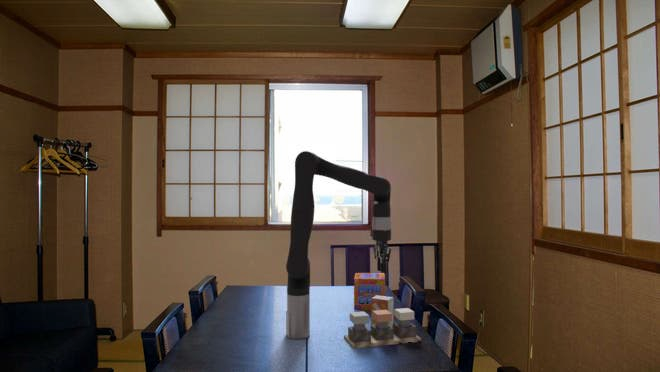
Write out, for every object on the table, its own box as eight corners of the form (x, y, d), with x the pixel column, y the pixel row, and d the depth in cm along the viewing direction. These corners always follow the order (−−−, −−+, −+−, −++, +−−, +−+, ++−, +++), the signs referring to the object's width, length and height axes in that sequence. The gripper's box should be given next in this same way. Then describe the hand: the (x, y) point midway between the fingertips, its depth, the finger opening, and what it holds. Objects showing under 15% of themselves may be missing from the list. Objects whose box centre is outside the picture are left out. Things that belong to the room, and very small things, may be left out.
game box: (385, 310, 226) (385, 278, 226) (353, 310, 228) (353, 278, 228) (385, 302, 242) (385, 273, 242) (355, 302, 243) (355, 272, 243)
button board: (353, 348, 174) (353, 334, 174) (343, 338, 185) (343, 325, 185) (421, 341, 181) (421, 328, 181) (408, 332, 193) (408, 319, 193)
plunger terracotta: (377, 332, 180) (377, 314, 180) (372, 328, 185) (372, 310, 185) (392, 331, 181) (391, 313, 181) (386, 326, 187) (386, 309, 187)
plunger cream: (400, 330, 182) (400, 312, 182) (394, 326, 188) (394, 309, 188) (414, 329, 184) (414, 311, 184) (407, 325, 189) (407, 307, 189)
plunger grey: (354, 334, 177) (354, 316, 177) (349, 330, 183) (349, 312, 183) (369, 333, 179) (369, 315, 179) (364, 328, 184) (364, 311, 184)
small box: (370, 328, 198) (370, 297, 198) (376, 324, 204) (376, 294, 204) (388, 331, 194) (388, 300, 194) (393, 327, 200) (393, 296, 200)
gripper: (366, 227, 189) (366, 269, 189) (379, 230, 175) (379, 275, 175) (383, 226, 191) (384, 268, 191) (397, 229, 177) (397, 274, 177)
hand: (381, 271), depth 183 cm, fingers open, 3 cm apart
